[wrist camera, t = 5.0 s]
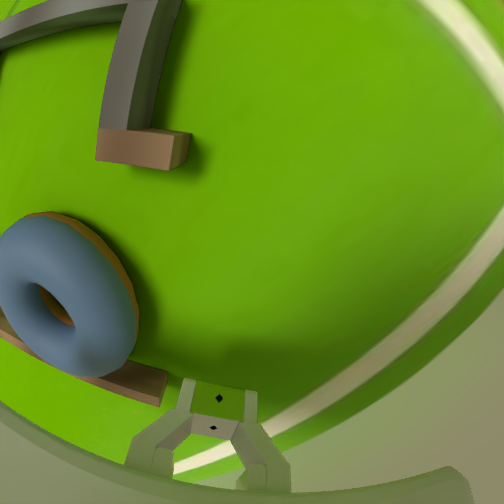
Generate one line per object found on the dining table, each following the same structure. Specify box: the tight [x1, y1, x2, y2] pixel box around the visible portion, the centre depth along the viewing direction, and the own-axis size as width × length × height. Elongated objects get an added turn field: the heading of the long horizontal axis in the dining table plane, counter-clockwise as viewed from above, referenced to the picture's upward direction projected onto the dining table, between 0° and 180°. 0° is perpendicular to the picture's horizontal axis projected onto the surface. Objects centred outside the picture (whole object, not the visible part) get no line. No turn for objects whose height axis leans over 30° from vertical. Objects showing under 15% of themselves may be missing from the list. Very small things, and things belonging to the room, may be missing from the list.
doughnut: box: [0, 211, 140, 377], centre depth 12 cm, size 10×10×5 cm
